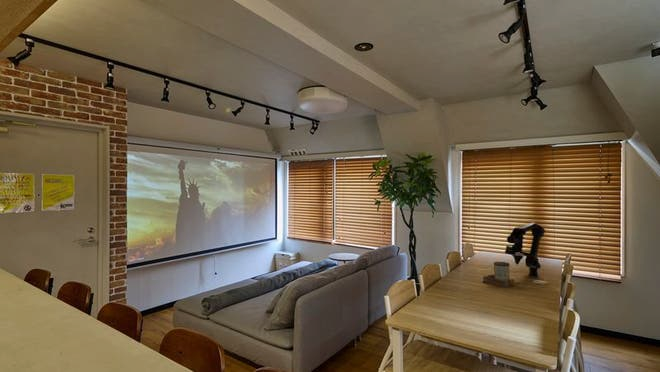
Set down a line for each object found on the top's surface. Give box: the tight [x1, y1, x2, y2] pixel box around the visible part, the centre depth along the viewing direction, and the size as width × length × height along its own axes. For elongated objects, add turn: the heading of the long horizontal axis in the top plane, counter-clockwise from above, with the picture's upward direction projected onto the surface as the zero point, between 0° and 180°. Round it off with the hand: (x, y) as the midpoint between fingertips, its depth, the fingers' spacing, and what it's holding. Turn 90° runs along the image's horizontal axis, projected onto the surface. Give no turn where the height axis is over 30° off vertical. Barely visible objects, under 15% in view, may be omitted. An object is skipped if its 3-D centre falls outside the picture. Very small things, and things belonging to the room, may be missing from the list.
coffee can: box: [493, 261, 511, 281], centre depth 237 cm, size 10×10×14 cm
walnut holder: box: [482, 273, 515, 288], centre depth 235 cm, size 11×16×4 cm
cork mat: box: [531, 279, 549, 286], centre depth 234 cm, size 10×10×1 cm
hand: (516, 264), depth 245 cm, fingers closed
